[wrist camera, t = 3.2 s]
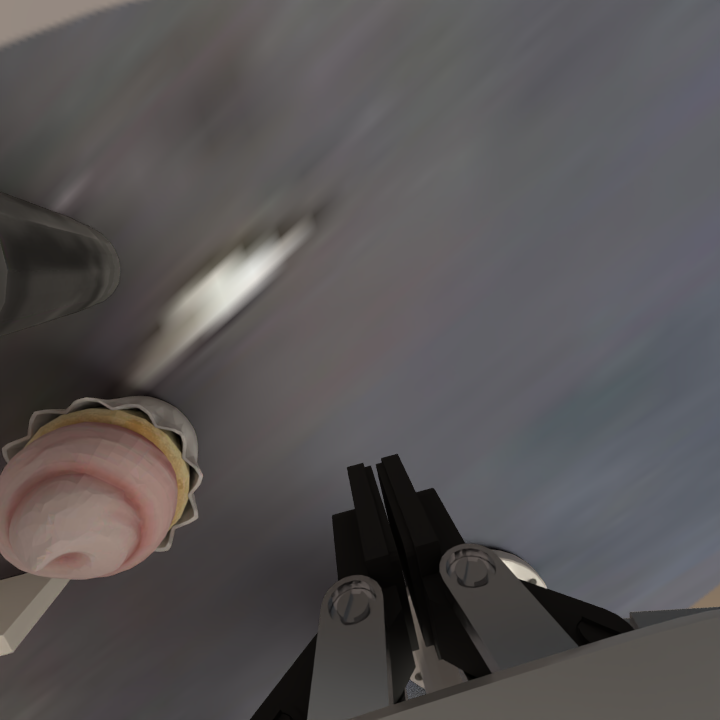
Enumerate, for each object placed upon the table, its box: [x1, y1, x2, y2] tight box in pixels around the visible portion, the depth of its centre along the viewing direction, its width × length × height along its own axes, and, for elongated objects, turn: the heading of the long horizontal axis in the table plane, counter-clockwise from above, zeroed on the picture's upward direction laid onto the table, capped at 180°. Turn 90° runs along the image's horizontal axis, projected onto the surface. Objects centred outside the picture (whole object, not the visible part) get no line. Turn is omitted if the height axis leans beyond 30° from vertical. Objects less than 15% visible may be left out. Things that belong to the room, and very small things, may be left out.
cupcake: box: [0, 396, 203, 580], centre depth 19 cm, size 9×9×10 cm
